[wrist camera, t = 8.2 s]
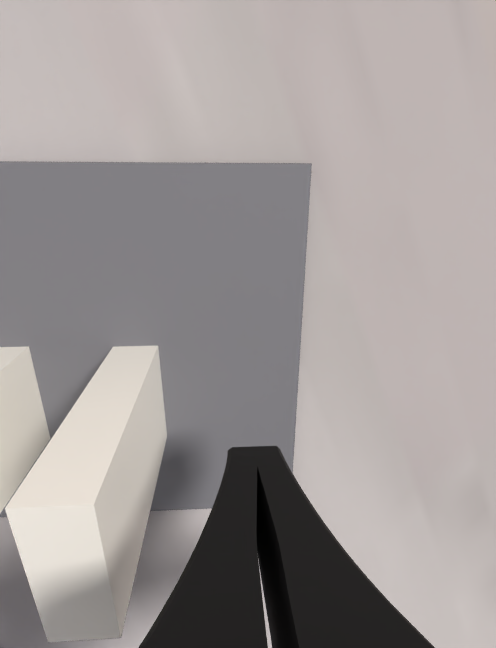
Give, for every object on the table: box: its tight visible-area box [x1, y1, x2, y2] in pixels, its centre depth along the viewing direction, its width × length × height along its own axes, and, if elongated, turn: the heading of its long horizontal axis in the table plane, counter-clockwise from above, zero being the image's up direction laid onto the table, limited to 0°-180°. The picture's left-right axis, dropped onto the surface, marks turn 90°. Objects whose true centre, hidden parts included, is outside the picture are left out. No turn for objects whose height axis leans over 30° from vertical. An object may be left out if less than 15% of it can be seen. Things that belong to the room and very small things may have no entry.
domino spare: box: [5, 346, 167, 643], centre depth 11 cm, size 4×2×7 cm, turn 0°
